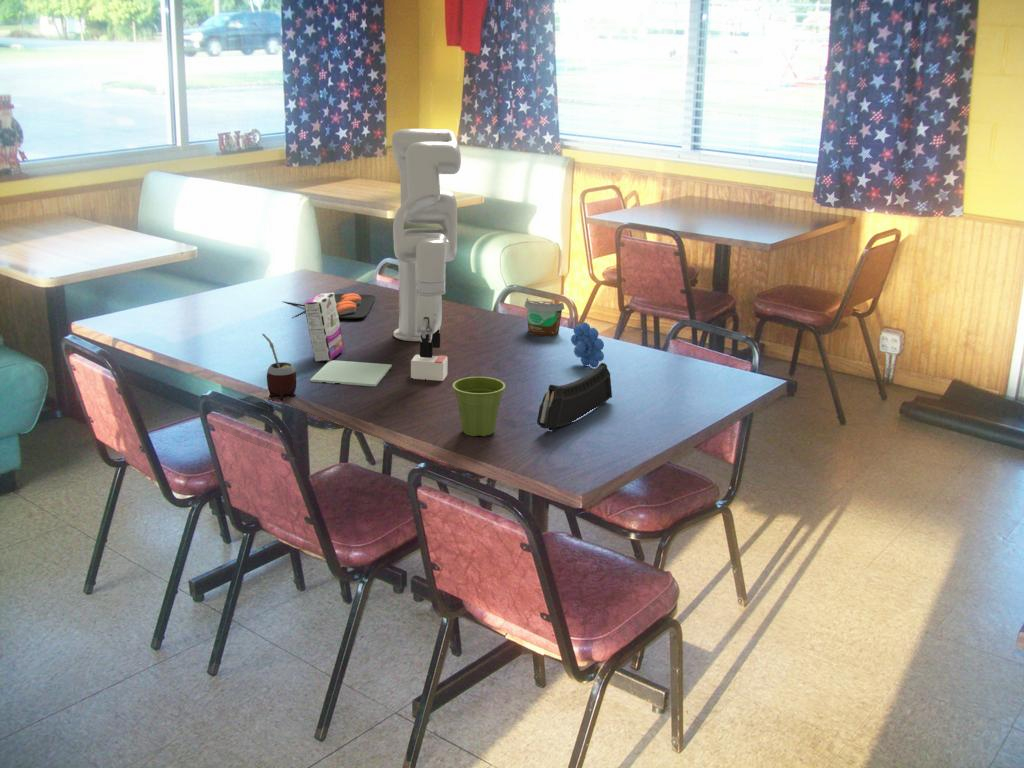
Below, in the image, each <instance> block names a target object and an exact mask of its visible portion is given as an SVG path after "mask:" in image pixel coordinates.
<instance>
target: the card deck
mask: <svg viewBox="0 0 1024 768" xmlns="http://www.w3.org/2000/svg"><path fill="white" fill-rule="evenodd" d="M448 362H449V361H448V356H447V355H433V356H432V358H425V357H420V354H415V355H414V356H413V357H412V359H410V379H411V378H413V380H414V379H415V380H425V379H426V380H425V381H440V382H444V380H445V378H446V377H447V376H448Z"/></svg>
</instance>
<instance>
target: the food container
mask: <svg viewBox="0 0 1024 768" xmlns="http://www.w3.org/2000/svg"><path fill="white" fill-rule="evenodd" d="M523 306H524V308H525V309H526V317H527V332H529V333H528V334H530V335H532V334H533V336H535V335H538V336H537V337H545V336H546V337H554V336H553V335H555V336H558V335H559V332H560V325H561V319H562V311H563V310H565V304H564V301H561V302H559V303H552V302H549V301H543V300H542V301H541V300H540V301H536V300H535V301H533V300H529V298H528V297H526V299H525V301H524V305H523ZM557 334H558V335H557Z"/></svg>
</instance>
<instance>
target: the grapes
mask: <svg viewBox="0 0 1024 768" xmlns="http://www.w3.org/2000/svg"><path fill="white" fill-rule="evenodd" d="M598 337H599V331H598V329H597V328H596V327H591V325H590V324H589V323H588V322H586V321H584V322H581V325H579V324H576V325H574V328H573V334H572V336H571V337H570V342H571V344H573V346H575V347H574V348H573V353H574V356H575V357H577V358H579V359H580V363H581V364H582V365H583V366H585V365H589V364H590V365H589V366H590V367H592V368H594V367H595V368H597V367H598V366H599V365H600V363H599V362H602V361H604V358H605V354H604V352H603V351H602V350H603V349H604V347H605V343H604V341H603V340H602V339H601V338H598Z"/></svg>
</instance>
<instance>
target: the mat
mask: <svg viewBox="0 0 1024 768" xmlns="http://www.w3.org/2000/svg"><path fill="white" fill-rule="evenodd" d="M392 367H393V365H392V364H389V363H388V364H387V363H377V362H376V363H375V362H362V361H350V360H349V361H347V360H337V359H336V360H335V359H334V360H333V359H332V360H331V361H327V362H326V363H325V364H324V365H323V366H322V367H321V368H320V369H319V370H318V371H317V372H316V373H315V374H314V375H313V376H312V377H311V378H310V380H309V382H312V383H322V382H326V383H325V384H335V383H340V384H339V385H347V386H348V385H349V386H364V387H377V385H378V384H379V383H380V382H381V380H383V378H384V377H385V376H386V374H387V373H389V371H390V370H389V369H392Z"/></svg>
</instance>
